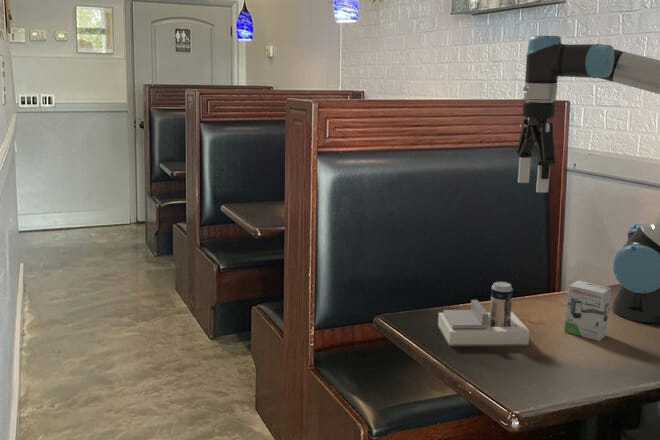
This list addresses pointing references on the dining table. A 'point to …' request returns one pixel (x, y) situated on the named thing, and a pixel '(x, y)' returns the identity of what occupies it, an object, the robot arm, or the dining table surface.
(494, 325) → the beer can
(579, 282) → the ink box
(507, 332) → the socket plate
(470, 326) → the shutter
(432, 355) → the dining table surface
